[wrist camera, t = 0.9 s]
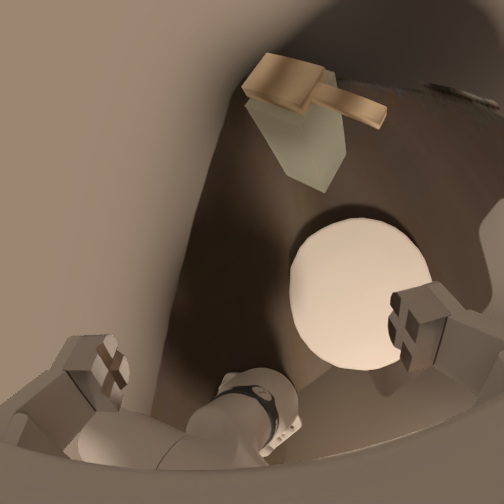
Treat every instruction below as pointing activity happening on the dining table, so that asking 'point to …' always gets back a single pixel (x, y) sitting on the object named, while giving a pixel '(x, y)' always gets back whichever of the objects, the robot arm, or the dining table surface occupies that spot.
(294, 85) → the wooden paddle
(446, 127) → the dining table surface
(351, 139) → the dining table surface
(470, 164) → the dining table surface
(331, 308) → the plate
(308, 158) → the shelf block
